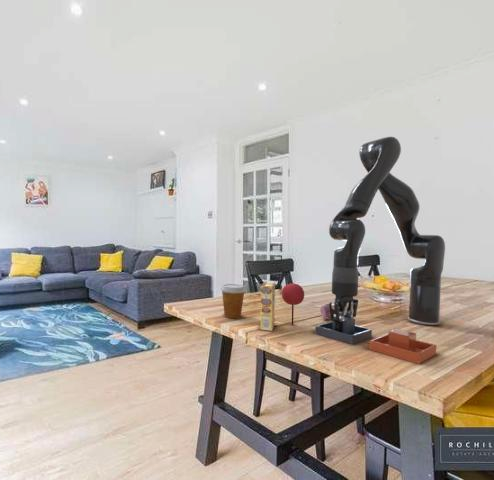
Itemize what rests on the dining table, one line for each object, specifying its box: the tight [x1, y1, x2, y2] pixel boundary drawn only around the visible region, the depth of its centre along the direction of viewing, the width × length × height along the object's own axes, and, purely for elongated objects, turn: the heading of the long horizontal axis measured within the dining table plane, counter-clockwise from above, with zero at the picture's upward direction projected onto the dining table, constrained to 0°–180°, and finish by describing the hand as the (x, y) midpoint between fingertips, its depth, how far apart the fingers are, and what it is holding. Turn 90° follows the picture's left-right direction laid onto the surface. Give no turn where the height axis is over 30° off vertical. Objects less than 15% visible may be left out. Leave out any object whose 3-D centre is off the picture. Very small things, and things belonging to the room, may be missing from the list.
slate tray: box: [314, 321, 373, 345], centre depth 108 cm, size 12×12×3 cm
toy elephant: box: [319, 303, 342, 321], centre depth 128 cm, size 10×5×7 cm, turn 84°
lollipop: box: [281, 283, 305, 326], centre depth 119 cm, size 8×8×15 cm
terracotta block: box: [388, 328, 417, 352], centre depth 94 cm, size 5×5×5 cm
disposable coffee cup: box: [220, 283, 246, 319], centre depth 129 cm, size 10×10×12 cm
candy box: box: [259, 281, 276, 332], centre depth 115 cm, size 9×4×15 cm, turn 159°
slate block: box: [331, 317, 356, 335], centre depth 107 cm, size 5×5×5 cm
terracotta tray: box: [368, 333, 437, 365], centre depth 94 cm, size 12×12×3 cm
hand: (343, 331), depth 108 cm, fingers closed on slate block, 5 cm apart
